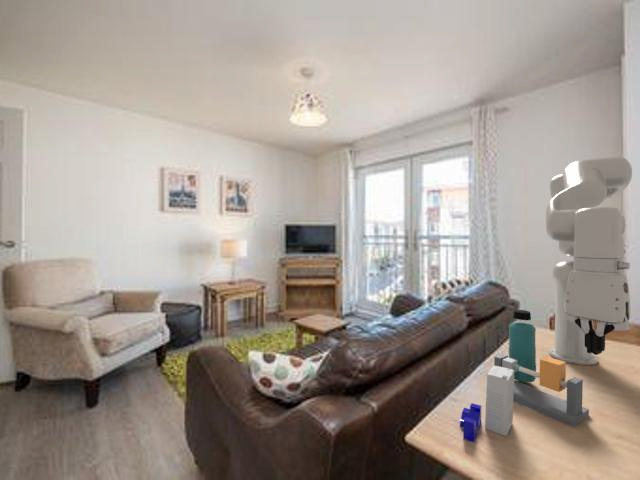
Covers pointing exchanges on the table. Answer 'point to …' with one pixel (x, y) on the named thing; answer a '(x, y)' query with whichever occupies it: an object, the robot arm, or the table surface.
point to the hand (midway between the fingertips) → (594, 352)
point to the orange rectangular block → (552, 373)
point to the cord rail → (547, 395)
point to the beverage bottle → (522, 345)
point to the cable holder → (471, 422)
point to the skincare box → (499, 400)
